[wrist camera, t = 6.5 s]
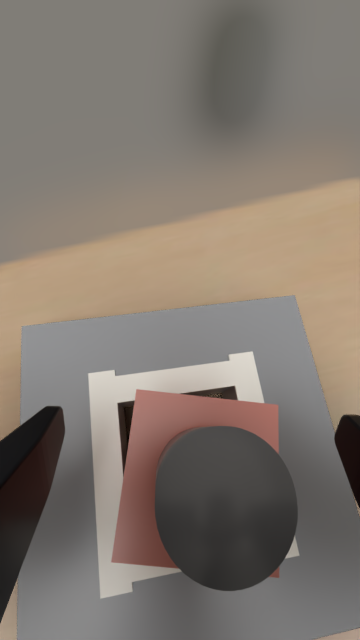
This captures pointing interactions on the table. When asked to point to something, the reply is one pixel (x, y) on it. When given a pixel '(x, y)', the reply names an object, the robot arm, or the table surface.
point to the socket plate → (109, 465)
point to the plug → (205, 490)
